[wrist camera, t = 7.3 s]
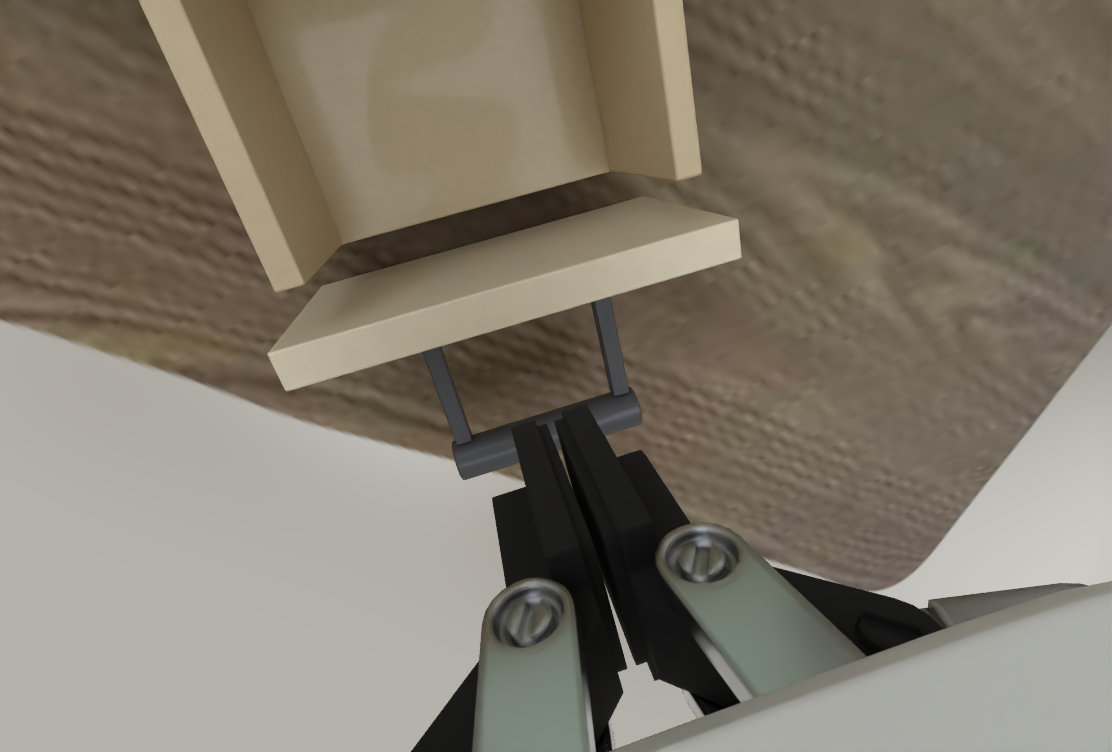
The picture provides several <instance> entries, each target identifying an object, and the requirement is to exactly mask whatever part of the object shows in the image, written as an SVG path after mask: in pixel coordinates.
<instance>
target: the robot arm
mask: <svg viewBox="0 0 1112 752" xmlns="http://www.w3.org/2000/svg"><path fill="white" fill-rule="evenodd" d="M562 417H563V418H561V419H558V420H555V421H554V423H555V427H556V431H557V434H558V438H559V441H560V445H561V449H562V452H563V456H564V459H565V463H566V467H567V470H568V474H569V477H570V481H571V484H570V482H569V479H568V477H567V474H566V471H565V469H564V466H563V464H562V461H561V459H560V456H559V454H558V451H557V448H556V446H555V443H554V441H553V438H552V436H551V433H550V431H549V428H548V425H547V423H546V424H542V425H539V426H537V424H536V421H535V420H533V421H529V422H526V423H523V424H520V425H517V426H513V427H511V431H512V435H513V439H514V443H515V447H516V450H517V454H518V458H519V462H520V466H521V469H522V473H523V477H524V481H525V485H526V487H524V488H520V489H518V490H514V491H511V492H508V493H505V494H502V495H499V496H496V497H493V498H492V501H493V508H494V514H495V520H496V527H497V533H498V539H499V545H500V551H501V558H502V564H503V570H504V576H505V583H506V588H505V589H504V590H502V591H501V592H500V593H499V594H498V595H497V596H496V597H495V598H494V599H493V600H492V601H491V603H490V605H489V607H488V608H487V610H486V612H485V615H484V619H483V623H482V633H481V644H480V657H479V661H478V663H477V664H476V665H475V667H474V668H473V670H472V671H471V672H470V674H469V675H468V676H467V678H466V679H465V680H464V682H463V683H462V684H461V686H460V687H459V688H458V690H457V691H456V692H455V694H454V695H453V696H452V698H451V699H450V700H449V702H448V703H447V704H446V706H445V707H444V709H443V710H442V711H441V712H440V714H439V715H438V716H437V718H436V719H435V720H434V722H433V723H432V725H431V726H430V727H429V728H428V730H427V731H426V732H425V734H424V735H423V736H422V738H421V739H420V740H419V742H418V743H417V744H416V746H415V747H414V748H413V750H412V751H411V752H1112V581H1111V582H1105V583H1100V584H1095V585H1091V586H1087V585H1083V584H1067V583H1059V584H1051V585H1043V586H1035V587H1027V588H1019V589H1011V590H1003V591H995V592H988V593H979V594H971V595H963V596H956V597H948V598H940V599H932V600H929V602H928V608H922V609H918V608H917V607H915V606H913V605H911V604H908V603H906V602H903V601H900V600H897V599H895V598H891V597H887V596H883V595H879V594H876V593H872V592H868V591H864V590H860V589H856V588H853V587H849V586H845V585H841V584H837V583H833V582H829V581H826V580H822V579H818V578H814V577H810V576H806V575H802V574H798V573H795V572H791V571H787V570H783V569H779V568H775V567H772V566H771V565H770V564H769V563H768V562H767V561H766V560H765V559H764V558H763V557H762V556H760V555H759V554H758V553H757V552H756V551H755V550H754V549H753V548H752V547H751V546H750V545H749V544H748V543H747V542H746V541H745V540H744V539H743V538H741V537H740V536H739V535H738V534H736V533H735V532H733V531H732V530H731V529H729V528H726V527H723V526H721V525H718V524H712V523H693V524H691V523H690V522H689V520H688V519H687V517H686V516H685V514H684V513H683V511H682V509H681V508H680V506H679V505H678V503H677V502H676V500H675V499H674V497H673V496H672V494H671V493H670V491H669V490H668V488H667V487H666V485H665V484H664V482H663V481H662V479H661V478H660V476H659V475H658V473H657V472H656V470H655V469H654V467H653V466H652V464H651V463H650V461H649V460H648V458H647V457H646V455H645V454H644V453H643V451H641V450H638V451H635V452H632V453H629V454H626V455H623V456H619V457H616V455H615V453H614V452H613V450H612V448H611V446H610V444H609V443H608V441H607V439H606V437H605V436H604V434H603V432H602V430H601V429H600V427H599V425H598V423H597V422H596V420H595V418H594V416H593V415H592V413H591V411H590V409H589V408H588V406H587V404H584V405H581V406H577V407H574V408H571V409H568V410H565V411H562ZM571 485H572V487H571ZM572 488H573V489H572ZM604 583H605V584H604ZM605 585H606V588H607V591H608V593H609V596H610V598H611V601H612V604H613V606H614V609H615V611H616V614H617V617H618V619H619V622H620V625H621V627H622V630H623V632H624V635H625V638H626V640H627V643H628V646H629V648H630V651H631V653H632V656H633V659H634V661H635V663H636V665H639V664H642V663H644V662H647V663H648V666H649V668H650V671H651V673H652V676H653V678H654V681H655V680H658V679H660V680H662V681H664V682H667V683H669V684H672V685H674V686H676V687H679V688H681V689H682V691H683V694H684V696H685V699H686V701H687V703H688V705H689V707H690V708H691V710H692V712H693V713H694V715H695V716H696V718H697V719H695V720H693V721H690V722H687V723H685V724H682V725H679V726H677V727H674V728H671V729H668V730H666V731H663V732H660V733H658V734H655V735H652V736H650V737H647V738H644V739H642V740H639V741H636V742H633V743H631V744H628V745H625V746H623V747H620V748H617V749H616V746H615V739H614V733H613V729H612V726H611V723H610V718H611V716H612V714H613V712H614V710H615V708H616V706H617V704H618V702H619V700H620V698H621V696H622V694H623V689H622V686H621V682H620V679H619V675H618V672H619V671H622V670H625V669H627V665H626V662H625V658H624V654H623V650H622V647H621V643H620V639H619V636H618V632H617V628H616V625H615V621H614V618H613V614H612V610H611V606H610V603H609V599H608V595H607V591H606V588H605Z"/></svg>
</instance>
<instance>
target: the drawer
mask: <svg viewBox="0 0 1112 752" xmlns="http://www.w3.org/2000/svg"><path fill="white" fill-rule="evenodd" d="M139 2H140V4H141V6H142V9H143V11H144V13H145V15H146V17H147V19H148V21H149V24H150V26H151V28H152V30H153V32H154V34H155V36H156V38H157V41H158V43H159V45H160V47H161V49H162V51H163V53H164V56H165V58H166V60H167V62H168V64H169V66H170V68H171V71H172V73H173V75H174V77H175V79H176V81H177V83H178V85H179V88H180V90H181V92H182V94H183V96H184V98H185V100H186V103H187V105H188V107H189V109H190V111H191V113H192V115H193V118H194V120H195V122H196V124H197V126H198V128H199V130H200V132H201V135H202V137H203V139H204V141H205V143H206V145H207V147H208V150H209V152H210V154H211V156H212V158H213V160H214V162H215V165H216V167H217V169H218V171H219V173H220V175H221V177H222V180H223V182H224V184H225V186H226V188H227V190H228V192H229V194H230V197H231V199H232V201H233V203H234V205H235V207H236V209H237V212H238V214H239V216H240V218H241V220H242V222H243V224H244V227H245V229H246V231H247V233H248V235H249V237H250V239H251V241H252V244H253V246H254V248H255V250H256V252H257V254H258V256H259V259H260V261H261V263H262V265H263V267H264V269H265V271H266V274H267V276H268V278H269V280H270V282H271V284H272V286H273V288H274V291H275V292H281V291H284V290H288V289H292V288H295V287H299V286H302V285H305V284H306V283H307V282H308V280H309V279H310V278H311V277H312V276H313V275H314V274H315V273H316V272H317V271H318V270H319V269H320V268H321V267H322V265H323V264H324V263H325V262H326V261H327V260H328V259H329V258H330V257H331V256H332V255H333V254H334V253H335V252H336V251H337V249H338V248H339V247H340V246H341V245H343V244H346V243H350V242H354V241H357V240H361V239H365V238H369V237H372V236H376V235H380V234H383V233H387V232H391V231H394V230H398V229H402V228H405V227H409V226H413V225H416V224H420V223H424V222H427V221H431V220H435V219H438V218H442V217H446V216H449V215H453V214H457V213H460V212H464V211H468V210H471V209H475V208H479V207H482V206H486V205H490V204H493V203H497V202H501V201H504V200H508V199H512V198H515V197H519V196H523V195H526V194H530V193H534V192H537V191H541V190H545V189H548V188H552V187H556V186H560V185H563V184H567V183H571V182H574V181H578V180H582V179H585V178H589V177H593V176H596V175H600V174H604V173H607V172H611V171H613V172H620V173H627V174H634V175H641V176H648V177H655V178H662V179H669V180H676V181H680V180H684V179H688V178H691V177H695V176H698V175H700V174H701V173H702V168H701V159H700V150H699V141H698V133H697V124H696V115H695V106H694V98H693V89H692V80H691V71H690V63H689V54H688V45H687V36H686V28H685V19H684V10H683V1H682V0H139ZM740 258H741V246H740V235H739V224H738V219H736V218H732V217H727V216H723V215H719V214H715V213H711V212H707V211H703V210H698V209H694V208H690V207H686V206H682V205H678V204H674V203H669V202H665V201H661V200H657V199H653V198H649V197H644V196H643V197H639V198H635V199H632V200H628V201H625V202H621V203H617V204H614V205H610V206H607V207H603V208H599V209H596V210H592V211H589V212H585V213H581V214H578V215H574V216H571V217H567V218H563V219H560V220H556V221H553V222H549V223H546V224H542V225H538V226H535V227H531V228H528V229H524V230H520V231H517V232H513V233H510V234H506V235H502V236H499V237H495V238H492V239H488V240H484V241H481V242H477V243H474V244H470V245H466V246H463V247H459V248H456V249H452V250H448V251H445V252H441V253H438V254H434V255H430V256H427V257H423V258H420V259H416V260H412V261H409V262H405V263H402V264H398V265H394V266H391V267H387V268H384V269H380V270H376V271H373V272H369V273H366V274H362V275H359V276H355V277H351V278H348V279H344V280H341V281H337V282H333V283H330V284H326V285H323V286H321V288H320V289H319V290H318V291H317V293H316V294H315V295H314V296H313V298H312V299H311V300H310V301H309V303H308V304H307V305H306V306H305V308H304V309H303V310H302V311H301V313H300V314H299V315H298V316H297V318H296V319H295V320H294V321H293V323H292V324H291V325H290V326H289V328H288V329H287V330H286V331H285V333H284V334H283V335H282V336H281V337H280V339H279V340H278V341H277V342H276V344H275V345H274V346H273V347H272V349H271V350H270V351H269V352H268V357H269V359H270V361H271V363H272V365H273V367H274V369H275V371H276V373H277V375H278V377H279V379H280V381H281V383H282V385H283V387H284V389H285V390H286V391H291V390H294V389H297V388H301V387H304V386H308V385H311V384H314V383H318V382H321V381H325V380H328V379H331V378H335V377H338V376H342V375H345V374H348V373H352V372H355V371H359V370H362V369H366V368H369V367H372V366H376V365H379V364H383V363H386V362H389V361H393V360H396V359H400V358H403V357H406V356H410V355H413V354H417V353H420V352H423V355H424V358H425V360H426V363H427V366H428V369H429V371H430V374H431V377H432V379H433V382H434V385H435V388H436V390H437V393H438V396H439V398H440V401H441V404H442V407H443V409H444V412H445V415H446V418H447V420H448V423H449V426H450V428H451V431H452V434H453V437H454V439H455V441H453V442H452V450H453V455H454V459H455V462H456V466H457V469H458V471H459V474H460V476H461V477H462V479H463V480H467V479H470V478H473V477H476V476H479V475H482V474H486V473H489V472H492V471H495V470H498V469H501V468H505V467H508V466H511V465H514V464H517V463H520V462H519V458H518V454H517V450H516V447H515V443H514V439H513V435H512V431H511V427H513V426H517V425H520V424H523V423H526V422H529V421H533V420H535V421H536V424H537V426H539V425H542V424H546V423H547V425H548V428H549V431H550V433H551V436H552V438H553V441H554V443H555V446H556V448H557V451H558V450H561V445H560V441H559V438H558V434H557V431H556V427H555V423H554V421H555V420H558V419H561V418H563V417H562V411H565V410H568V409H571V408H574V407H577V406H581V405H584V404H587V406H588V408H589V409H590V411H591V413H592V415H593V416H594V418H595V420H596V422H597V423H598V425H599V427H600V429H601V430H602V432H603V434H604V436H605V435H609V434H612V433H615V432H618V431H621V430H624V429H627V428H631V427H634V426H637V425H640V424H641V423H642V412H641V408H640V405H639V402H638V399H637V397H636V395H635V393H634V391H633V390H632V388H631V387H628V383H627V378H626V373H625V368H624V363H623V358H622V353H621V348H620V343H619V338H618V333H617V328H616V323H615V318H614V313H613V308H612V303H611V298H610V297H611V296H614V295H617V294H621V293H624V292H628V291H631V290H635V289H638V288H641V287H645V286H648V285H652V284H655V283H658V282H662V281H665V280H669V279H672V278H675V277H679V276H682V275H686V274H689V273H692V272H696V271H699V270H703V269H706V268H709V267H713V266H716V265H720V264H723V263H726V262H730V261H733V260H737V259H740ZM590 302H591V305H592V309H593V314H594V319H595V323H596V328H597V332H598V337H599V342H600V346H601V351H602V356H603V360H604V365H605V369H606V374H607V379H608V383H609V388H610V391H611V392H610V393H606V394H603V395H600V396H597V397H593V398H590V399H587V400H584V401H581V402H577V403H574V404H571V405H568V406H564V407H561V408H558V409H555V410H552V411H548V412H545V413H542V414H539V415H535V416H532V417H529V418H526V419H523V420H519V421H516V422H513V423H510V424H506V425H503V426H500V427H497V428H493V429H490V430H487V431H484V432H481V433H477V434H474V435H472V433H471V430H470V427H469V424H468V421H467V419H466V416H465V413H464V410H463V407H462V404H461V401H460V399H459V396H458V393H457V390H456V387H455V384H454V381H453V379H452V376H451V373H450V370H449V367H448V364H447V361H446V359H445V356H444V353H443V350H442V347H441V346H444V345H447V344H451V343H454V342H457V341H461V340H464V339H468V338H471V337H474V336H478V335H481V334H485V333H488V332H492V331H495V330H498V329H502V328H505V327H509V326H512V325H515V324H519V323H522V322H526V321H529V320H532V319H536V318H539V317H543V316H546V315H549V314H553V313H556V312H560V311H563V310H566V309H570V308H573V307H577V306H580V305H583V304H587V303H590Z"/></svg>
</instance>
